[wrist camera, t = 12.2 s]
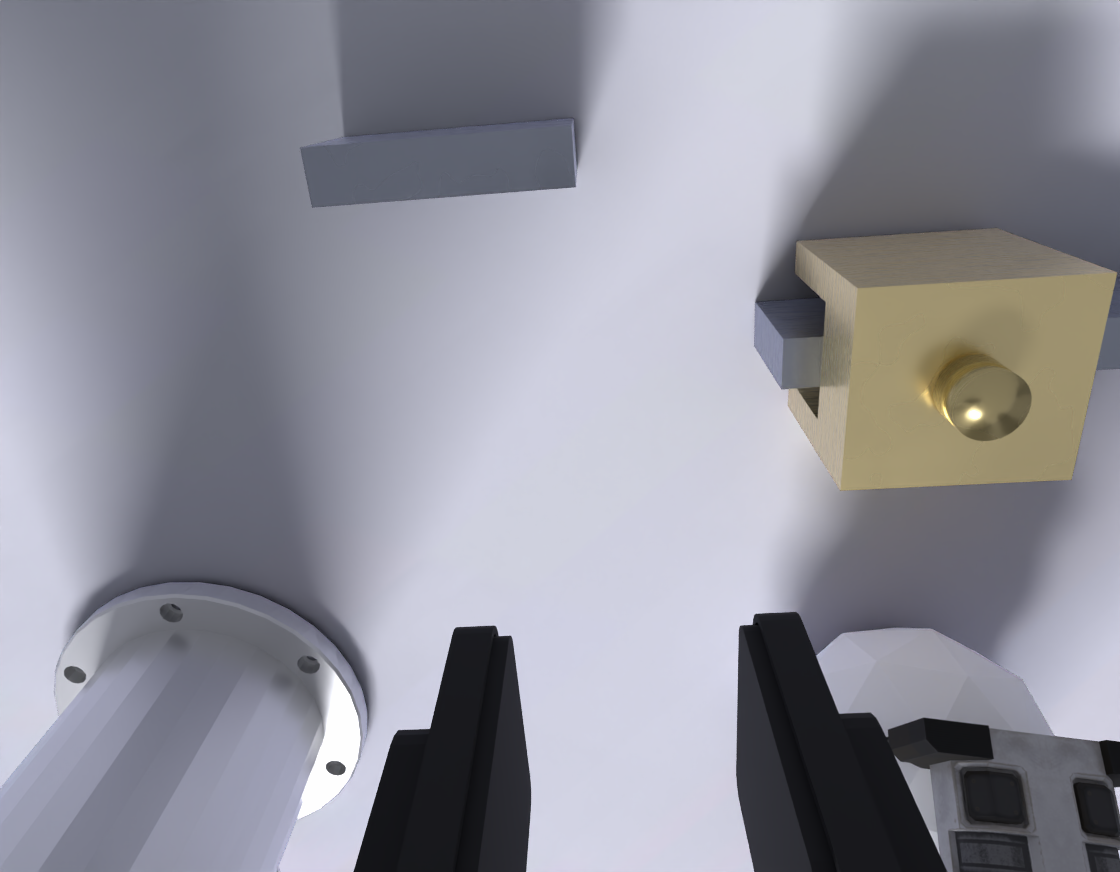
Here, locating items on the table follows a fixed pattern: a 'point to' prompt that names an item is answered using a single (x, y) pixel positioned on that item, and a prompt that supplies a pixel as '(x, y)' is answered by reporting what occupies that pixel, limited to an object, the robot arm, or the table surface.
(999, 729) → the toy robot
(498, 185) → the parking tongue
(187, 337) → the table surface
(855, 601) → the table surface
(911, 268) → the tan box with knob
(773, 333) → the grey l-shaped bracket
